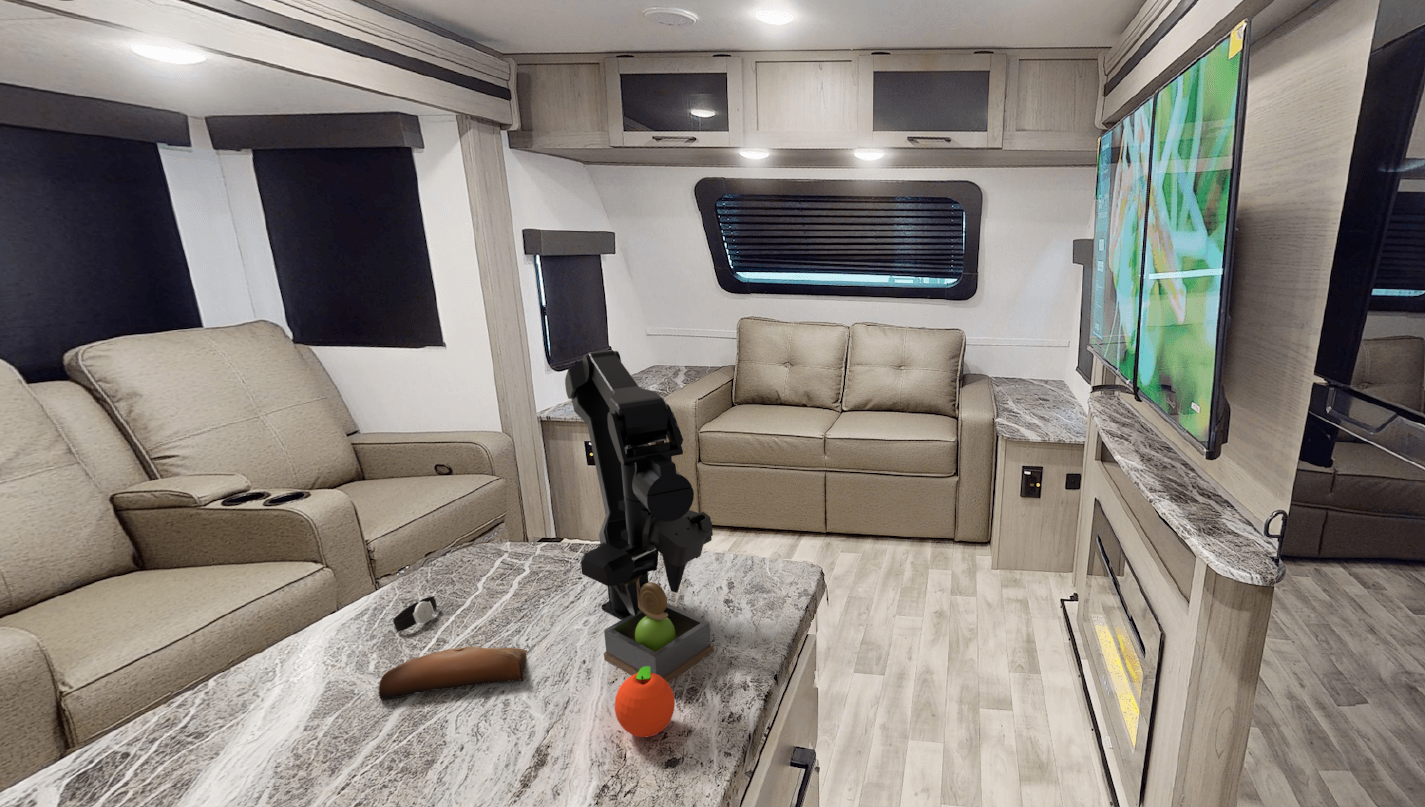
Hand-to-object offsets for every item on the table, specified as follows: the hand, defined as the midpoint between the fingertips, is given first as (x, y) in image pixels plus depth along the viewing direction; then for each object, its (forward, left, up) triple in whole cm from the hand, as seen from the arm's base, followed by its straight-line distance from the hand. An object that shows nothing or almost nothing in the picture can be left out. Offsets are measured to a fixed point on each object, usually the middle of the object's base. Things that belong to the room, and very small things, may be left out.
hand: (654, 602), depth 93 cm
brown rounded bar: (-18, -20, -9) cm, 28 cm away
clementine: (+9, -11, -8) cm, 16 cm away
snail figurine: (0, -1, -7) cm, 7 cm away
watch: (-37, -17, -8) cm, 41 cm away
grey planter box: (0, 0, -8) cm, 8 cm away
